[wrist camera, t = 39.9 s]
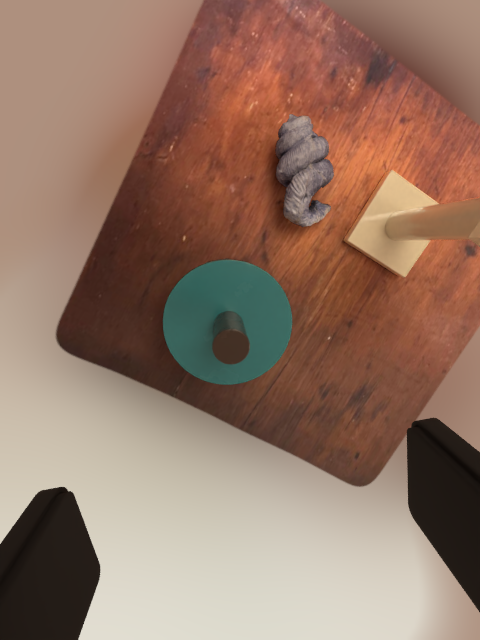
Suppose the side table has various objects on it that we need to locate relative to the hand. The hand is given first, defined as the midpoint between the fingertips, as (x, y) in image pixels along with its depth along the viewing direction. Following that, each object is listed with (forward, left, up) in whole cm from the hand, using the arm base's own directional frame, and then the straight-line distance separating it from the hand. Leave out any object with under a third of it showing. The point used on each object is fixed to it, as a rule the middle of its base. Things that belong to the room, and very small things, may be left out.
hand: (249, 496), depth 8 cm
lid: (0, 0, -19) cm, 19 cm away
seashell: (-12, +9, -26) cm, 31 cm away
